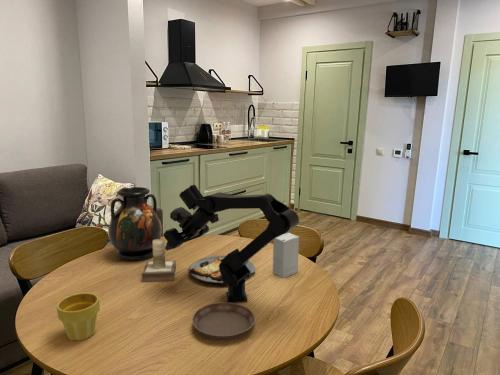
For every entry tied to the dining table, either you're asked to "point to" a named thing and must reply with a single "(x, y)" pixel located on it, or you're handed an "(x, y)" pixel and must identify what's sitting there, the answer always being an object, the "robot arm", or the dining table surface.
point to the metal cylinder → (159, 253)
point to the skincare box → (285, 255)
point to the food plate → (211, 269)
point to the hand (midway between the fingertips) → (174, 245)
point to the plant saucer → (223, 321)
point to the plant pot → (79, 314)
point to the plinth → (159, 272)
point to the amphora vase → (134, 224)
